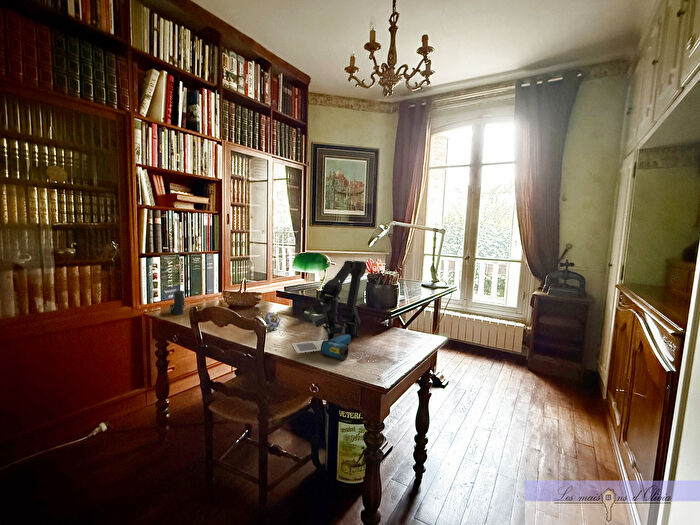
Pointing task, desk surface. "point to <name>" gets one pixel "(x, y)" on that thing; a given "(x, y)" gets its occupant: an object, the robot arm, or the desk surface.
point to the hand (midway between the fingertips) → (329, 341)
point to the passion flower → (272, 320)
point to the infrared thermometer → (336, 346)
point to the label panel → (307, 346)
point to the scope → (177, 303)
